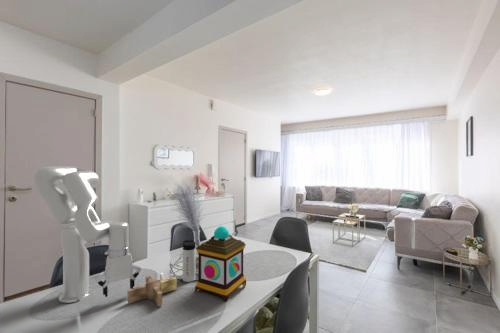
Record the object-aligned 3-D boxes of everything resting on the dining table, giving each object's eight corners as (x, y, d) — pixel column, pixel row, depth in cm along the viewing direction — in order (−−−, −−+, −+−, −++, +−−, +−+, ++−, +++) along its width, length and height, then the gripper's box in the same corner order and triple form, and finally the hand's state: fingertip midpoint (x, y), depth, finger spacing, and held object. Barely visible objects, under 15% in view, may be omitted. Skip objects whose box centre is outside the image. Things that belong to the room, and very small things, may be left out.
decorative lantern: (216, 276, 129) (216, 219, 129) (250, 285, 120) (250, 224, 120) (190, 294, 112) (190, 228, 111) (227, 306, 102) (227, 234, 102)
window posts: (159, 283, 119) (159, 273, 119) (170, 280, 123) (170, 270, 123) (162, 288, 115) (162, 277, 115) (174, 284, 118) (174, 274, 118)
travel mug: (189, 277, 129) (190, 238, 129) (198, 281, 124) (198, 241, 124) (179, 281, 124) (179, 241, 124) (187, 285, 120) (187, 244, 120)
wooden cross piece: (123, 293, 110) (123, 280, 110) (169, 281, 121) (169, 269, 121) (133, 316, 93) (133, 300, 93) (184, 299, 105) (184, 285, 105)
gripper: (95, 259, 97) (95, 302, 97) (142, 250, 107) (142, 289, 107) (94, 253, 103) (94, 294, 103) (138, 245, 113) (139, 282, 113)
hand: (119, 292), depth 105 cm, fingers open, 9 cm apart
